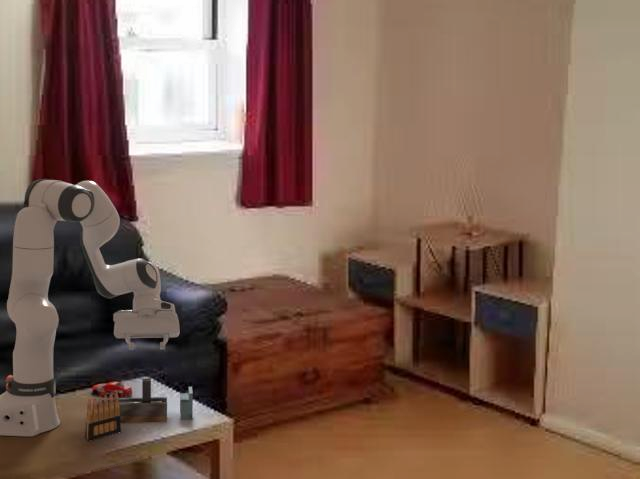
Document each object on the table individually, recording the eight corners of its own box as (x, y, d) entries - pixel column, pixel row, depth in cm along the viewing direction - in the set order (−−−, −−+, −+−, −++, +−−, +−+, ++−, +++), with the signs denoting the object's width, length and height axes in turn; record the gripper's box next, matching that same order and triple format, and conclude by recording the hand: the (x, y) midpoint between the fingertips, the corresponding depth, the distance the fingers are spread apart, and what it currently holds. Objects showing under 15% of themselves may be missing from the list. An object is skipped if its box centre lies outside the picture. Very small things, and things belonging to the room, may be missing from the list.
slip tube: (107, 412, 290) (106, 382, 288) (107, 409, 292) (107, 379, 291) (161, 411, 293) (162, 381, 291) (161, 408, 295) (161, 378, 293)
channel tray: (90, 424, 286) (90, 408, 285) (92, 413, 295) (92, 397, 294) (167, 422, 290) (167, 406, 289) (166, 411, 298) (166, 395, 297)
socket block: (180, 419, 292) (180, 393, 291) (180, 412, 298) (180, 387, 297) (192, 418, 293) (192, 393, 291) (191, 411, 299) (191, 386, 297)
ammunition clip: (88, 441, 274) (88, 400, 271) (85, 439, 275) (84, 398, 273) (121, 432, 281) (121, 392, 279) (117, 430, 282) (117, 390, 280)
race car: (88, 394, 311) (88, 382, 311) (97, 389, 316) (97, 377, 316) (125, 400, 307) (125, 388, 307) (134, 394, 313) (134, 382, 312)
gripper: (113, 305, 306) (112, 344, 298) (179, 304, 309) (180, 343, 302) (113, 315, 311) (112, 354, 303) (178, 314, 314) (179, 352, 307)
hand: (146, 348), depth 302 cm, fingers open, 8 cm apart
